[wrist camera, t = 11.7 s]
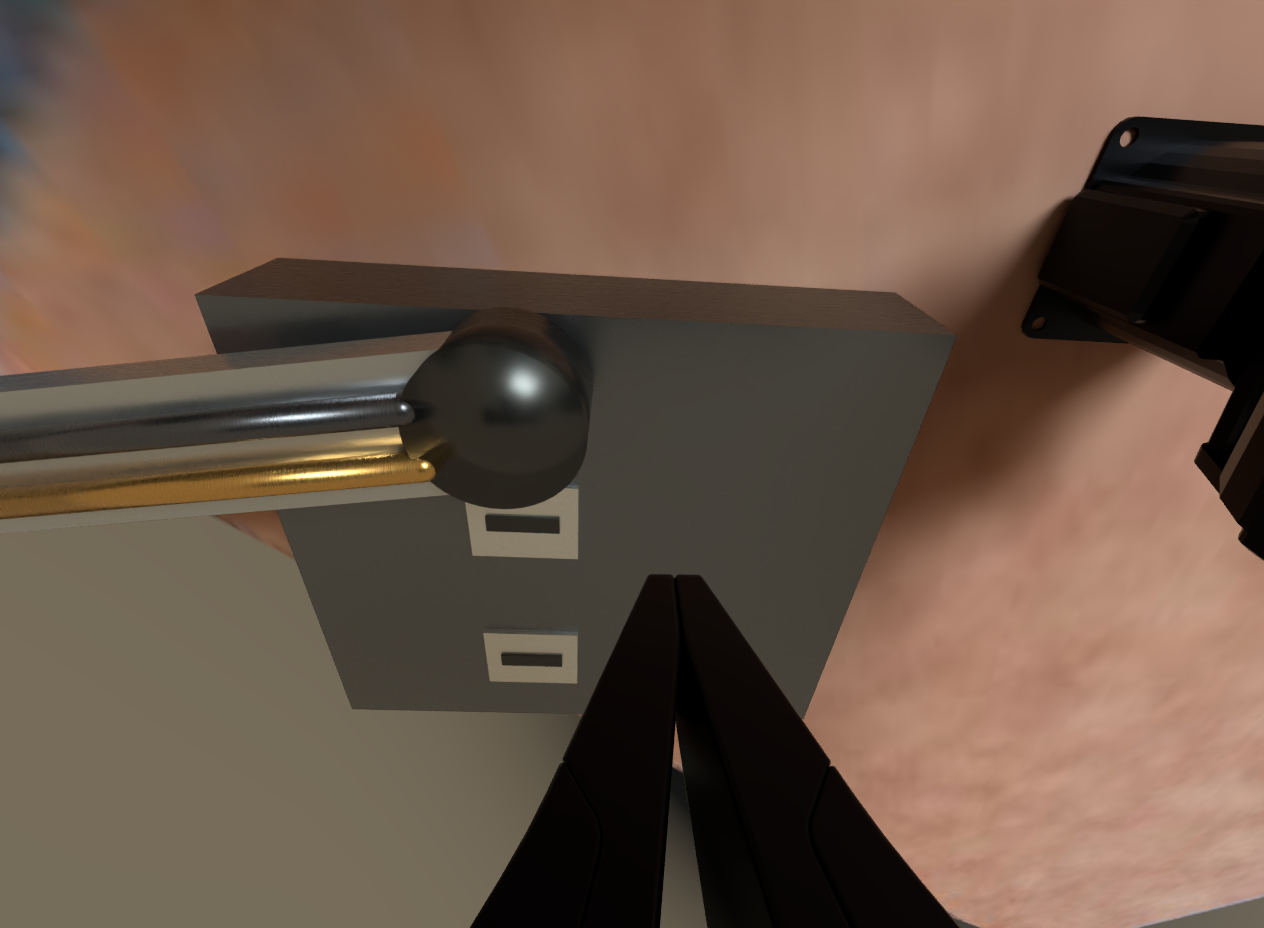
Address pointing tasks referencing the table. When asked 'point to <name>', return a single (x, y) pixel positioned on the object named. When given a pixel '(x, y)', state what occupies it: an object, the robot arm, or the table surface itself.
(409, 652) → the grey flat block
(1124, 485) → the table surface
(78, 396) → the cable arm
